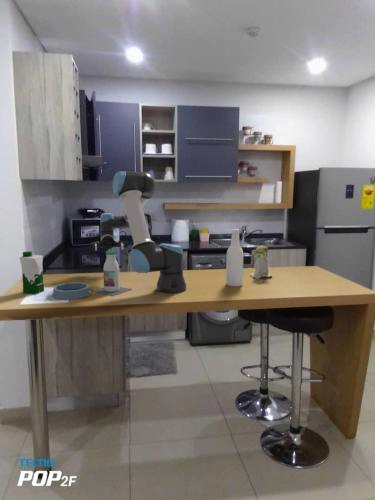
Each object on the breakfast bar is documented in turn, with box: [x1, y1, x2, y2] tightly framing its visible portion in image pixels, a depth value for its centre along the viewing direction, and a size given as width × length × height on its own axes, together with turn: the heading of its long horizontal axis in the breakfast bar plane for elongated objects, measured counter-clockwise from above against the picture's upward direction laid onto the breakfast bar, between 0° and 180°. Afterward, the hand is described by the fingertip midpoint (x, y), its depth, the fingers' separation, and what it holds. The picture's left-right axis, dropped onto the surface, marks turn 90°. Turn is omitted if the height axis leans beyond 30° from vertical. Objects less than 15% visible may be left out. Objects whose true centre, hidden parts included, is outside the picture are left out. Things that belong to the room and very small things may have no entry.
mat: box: [91, 286, 132, 297], centre depth 181 cm, size 14×14×1 cm
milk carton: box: [19, 251, 45, 295], centre depth 176 cm, size 9×9×20 cm
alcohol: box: [225, 228, 244, 287], centre depth 191 cm, size 9×9×30 cm
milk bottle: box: [102, 250, 121, 292], centre depth 179 cm, size 8×8×20 cm
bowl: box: [52, 281, 92, 301], centre depth 174 cm, size 18×18×4 cm
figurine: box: [249, 245, 273, 280], centre depth 211 cm, size 12×13×18 cm
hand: (109, 247), depth 187 cm, fingers open, 13 cm apart
